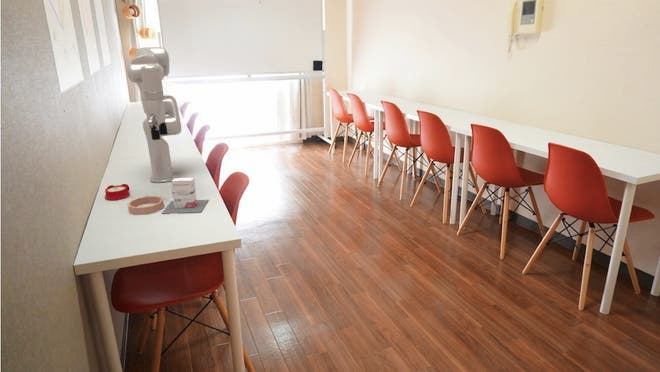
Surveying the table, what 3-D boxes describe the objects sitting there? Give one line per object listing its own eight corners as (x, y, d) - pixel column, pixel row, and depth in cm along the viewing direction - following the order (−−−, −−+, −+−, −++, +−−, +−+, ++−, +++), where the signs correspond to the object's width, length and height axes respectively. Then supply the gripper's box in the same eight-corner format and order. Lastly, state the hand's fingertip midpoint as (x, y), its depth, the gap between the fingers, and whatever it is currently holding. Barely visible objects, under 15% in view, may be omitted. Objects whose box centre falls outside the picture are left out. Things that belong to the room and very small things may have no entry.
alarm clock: (101, 195, 191) (104, 178, 203) (104, 207, 195) (107, 189, 207) (127, 192, 195) (128, 175, 207) (130, 203, 198) (131, 187, 210)
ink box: (197, 203, 189) (194, 176, 185) (194, 207, 184) (191, 180, 180) (177, 203, 188) (173, 177, 185) (173, 208, 184) (169, 181, 180)
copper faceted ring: (136, 202, 191) (135, 196, 190) (167, 201, 192) (166, 195, 191) (123, 215, 179) (122, 208, 178) (157, 213, 179) (156, 207, 178)
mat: (171, 201, 192) (171, 200, 192) (208, 200, 193) (208, 199, 193) (161, 214, 179) (161, 213, 179) (201, 212, 179) (200, 211, 179)
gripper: (152, 93, 188) (157, 132, 194) (137, 99, 172) (143, 142, 177) (169, 93, 188) (175, 132, 194) (156, 98, 172) (162, 141, 178)
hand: (160, 137), depth 186 cm, fingers open, 9 cm apart
